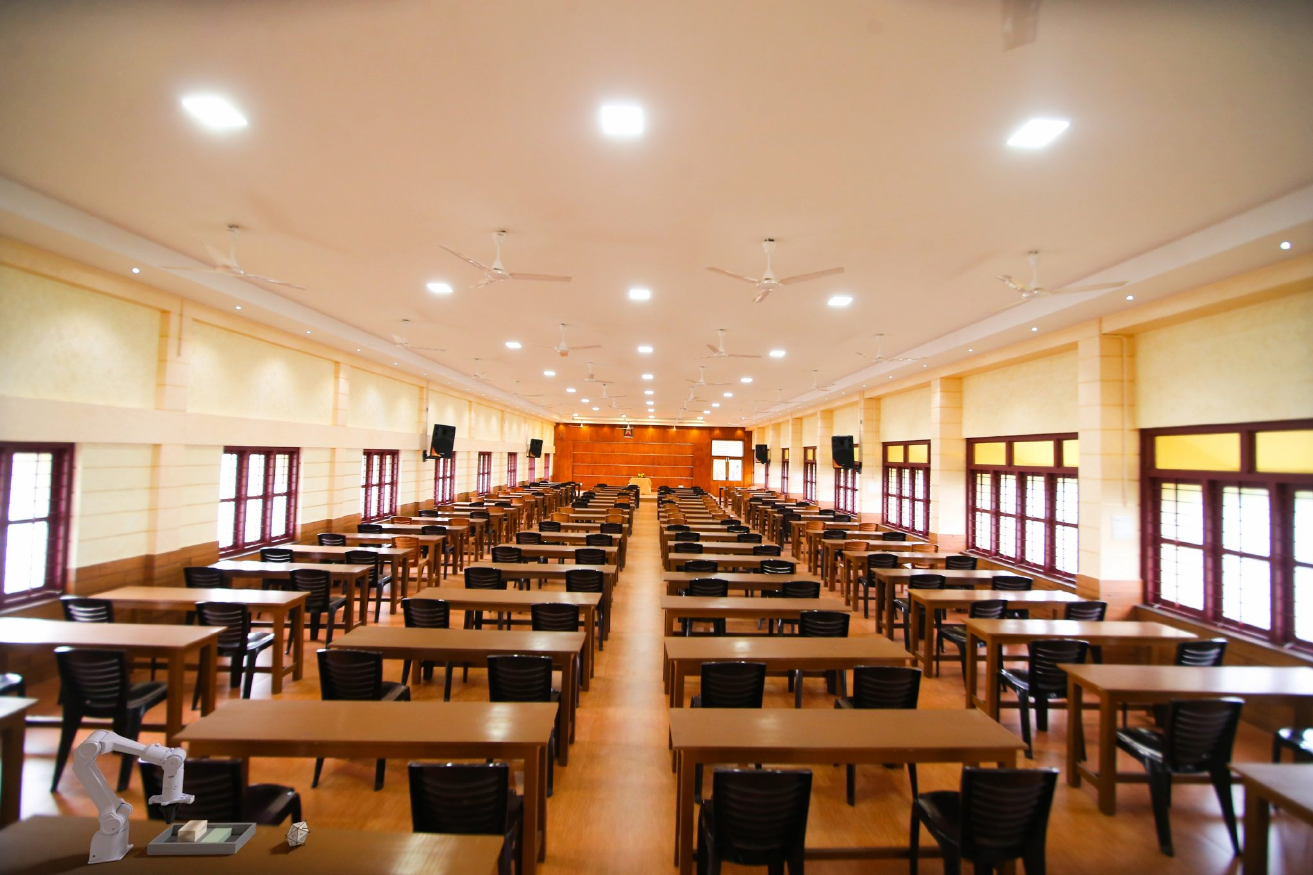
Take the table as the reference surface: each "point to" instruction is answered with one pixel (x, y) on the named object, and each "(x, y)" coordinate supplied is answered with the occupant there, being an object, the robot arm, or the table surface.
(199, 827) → the cream block
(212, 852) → the gray tray
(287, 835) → the game die
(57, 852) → the table surface
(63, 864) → the table surface
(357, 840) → the table surface
